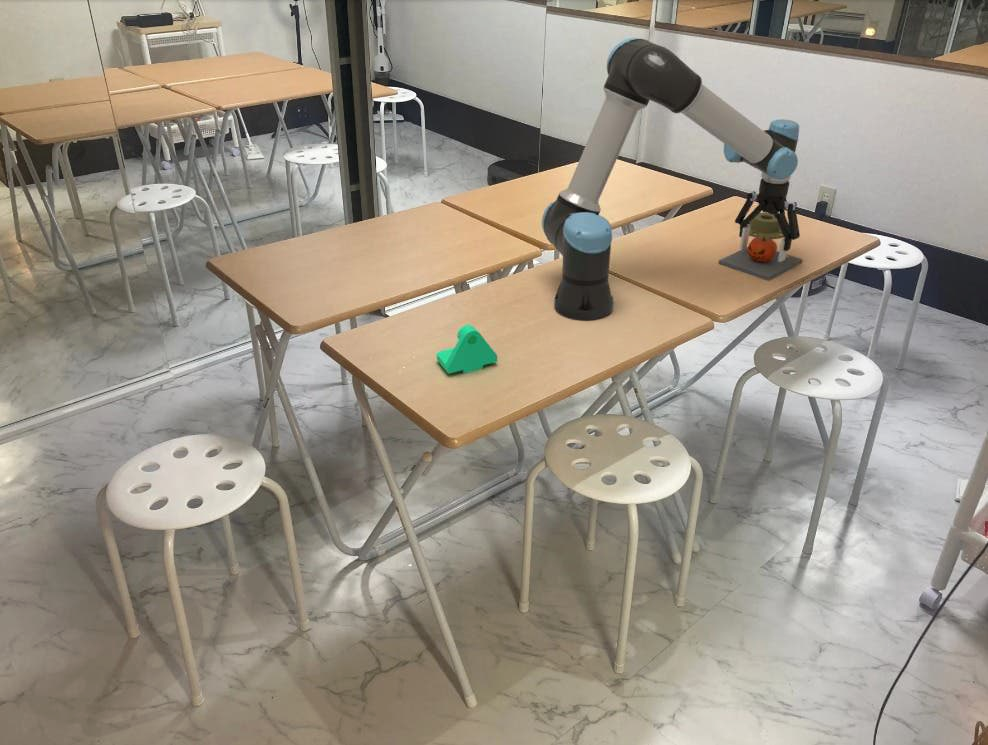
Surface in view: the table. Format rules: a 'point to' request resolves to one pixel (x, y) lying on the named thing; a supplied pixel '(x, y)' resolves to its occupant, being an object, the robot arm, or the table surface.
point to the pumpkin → (762, 249)
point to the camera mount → (467, 352)
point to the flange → (765, 226)
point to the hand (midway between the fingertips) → (761, 254)
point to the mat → (759, 264)
